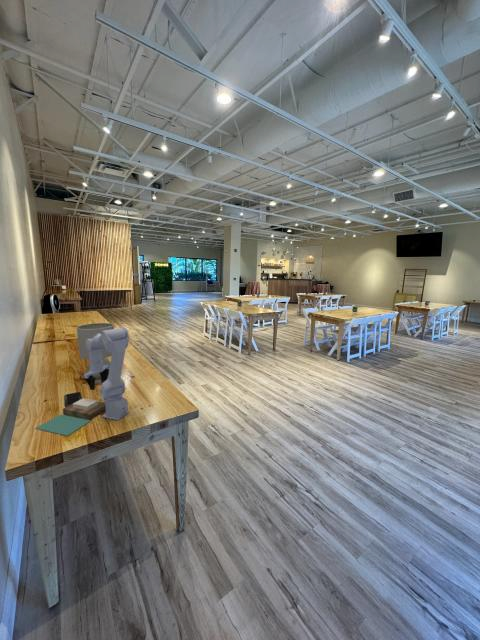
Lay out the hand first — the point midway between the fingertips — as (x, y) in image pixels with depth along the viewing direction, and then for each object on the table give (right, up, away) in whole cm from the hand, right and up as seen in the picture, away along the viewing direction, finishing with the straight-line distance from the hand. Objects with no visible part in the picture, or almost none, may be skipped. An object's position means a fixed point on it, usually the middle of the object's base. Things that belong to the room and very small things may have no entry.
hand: (98, 386), depth 137 cm
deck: (-2, -11, -7) cm, 13 cm away
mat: (-6, -13, -18) cm, 23 cm away
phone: (-16, -9, +6) cm, 20 cm away
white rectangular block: (-2, -7, -7) cm, 10 cm away
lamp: (-15, -4, +31) cm, 35 cm away
